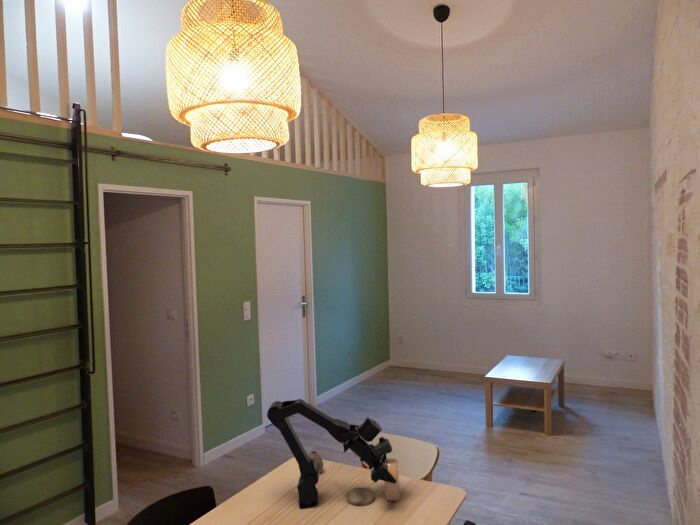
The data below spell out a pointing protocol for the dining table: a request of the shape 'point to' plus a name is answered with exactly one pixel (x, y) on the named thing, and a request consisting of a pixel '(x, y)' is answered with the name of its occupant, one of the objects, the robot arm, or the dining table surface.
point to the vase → (318, 458)
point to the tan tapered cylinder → (390, 488)
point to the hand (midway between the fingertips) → (395, 478)
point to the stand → (360, 496)
